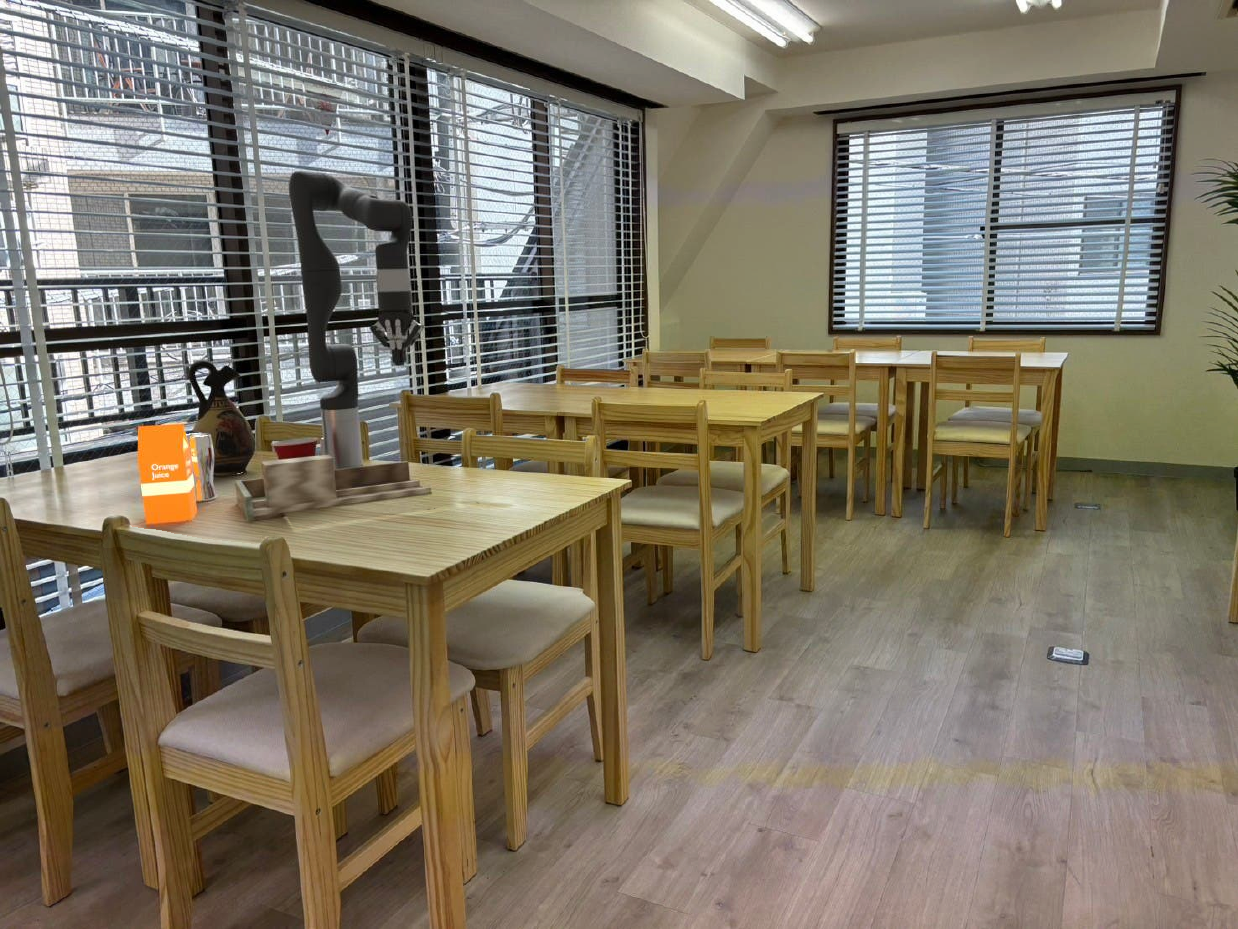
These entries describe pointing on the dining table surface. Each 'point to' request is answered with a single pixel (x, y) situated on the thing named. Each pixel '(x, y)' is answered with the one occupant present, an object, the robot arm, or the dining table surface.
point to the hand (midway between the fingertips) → (399, 365)
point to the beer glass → (202, 465)
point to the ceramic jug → (222, 421)
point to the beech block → (299, 480)
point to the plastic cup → (295, 448)
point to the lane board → (345, 492)
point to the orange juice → (166, 474)
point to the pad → (258, 498)
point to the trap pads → (369, 484)
